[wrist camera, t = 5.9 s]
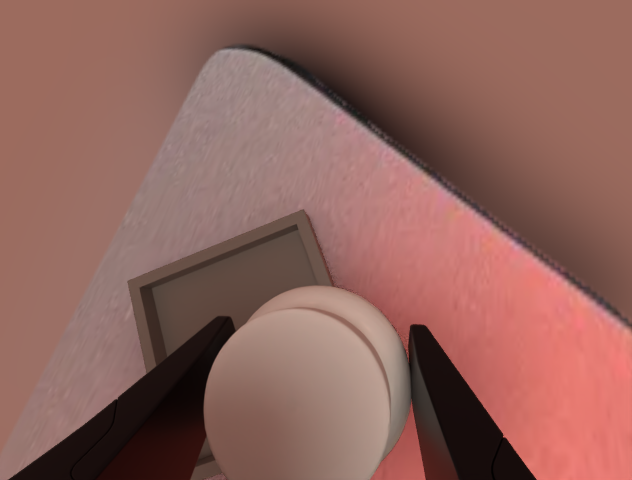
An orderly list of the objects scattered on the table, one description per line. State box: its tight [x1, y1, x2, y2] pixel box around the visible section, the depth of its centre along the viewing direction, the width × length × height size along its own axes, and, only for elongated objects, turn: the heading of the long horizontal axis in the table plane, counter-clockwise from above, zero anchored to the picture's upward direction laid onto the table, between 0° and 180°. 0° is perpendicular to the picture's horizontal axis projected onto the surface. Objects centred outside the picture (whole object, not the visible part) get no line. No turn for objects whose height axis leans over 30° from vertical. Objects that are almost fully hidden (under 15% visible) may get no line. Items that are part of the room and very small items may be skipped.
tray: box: [127, 209, 335, 480], centre depth 23 cm, size 14×14×2 cm
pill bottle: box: [204, 285, 412, 480], centre depth 11 cm, size 5×5×10 cm
